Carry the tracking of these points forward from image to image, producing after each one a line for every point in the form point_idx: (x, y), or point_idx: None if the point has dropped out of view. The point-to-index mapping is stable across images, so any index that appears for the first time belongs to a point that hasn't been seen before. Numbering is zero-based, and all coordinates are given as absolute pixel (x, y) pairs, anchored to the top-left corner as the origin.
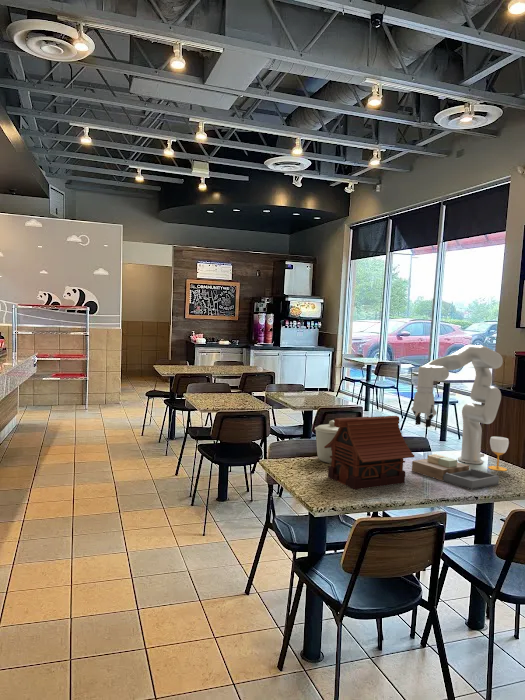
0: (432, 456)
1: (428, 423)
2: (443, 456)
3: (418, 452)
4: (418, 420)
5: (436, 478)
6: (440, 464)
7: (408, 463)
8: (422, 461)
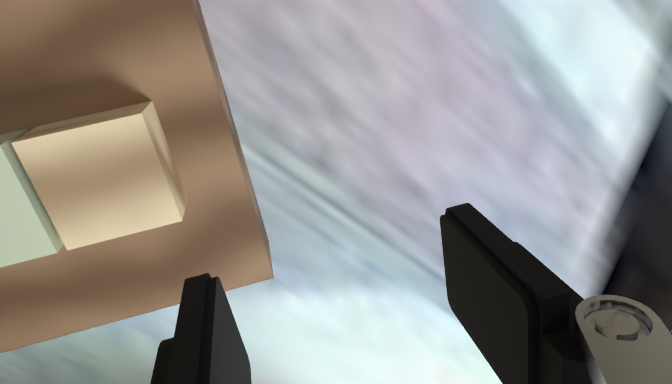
0: (80, 126)
1: (163, 363)
2: (80, 236)
3: None
4: (483, 302)
5: None
6: (2, 135)
7: (389, 85)
8: (144, 41)
